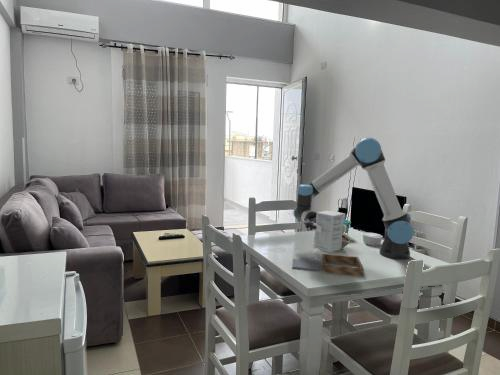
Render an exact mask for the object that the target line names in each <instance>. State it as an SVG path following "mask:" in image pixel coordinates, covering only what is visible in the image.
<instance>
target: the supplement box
mask: <svg viewBox="0 0 500 375" xmlns="http://www.w3.org/2000/svg"><path fill="white" fill-rule="evenodd" d="M316 213H317V215H316V224H318V225H320V226H321V227H322V229H321V233H320V232H318V231H316V230H314V239H313V240H314V243H313V248H314V249H318V250H321V251H325V252H328V253H333V252H335V251H340V250H342V243H343V238H342V234H343V222H344V219H345V213H341V212H337V211H332V210H322V211H317V212H316Z"/></svg>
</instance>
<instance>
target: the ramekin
mask: <svg viewBox="0 0 500 375" xmlns="http://www.w3.org/2000/svg"><path fill="white" fill-rule="evenodd" d="M383 237H384V236H383V235H381V234H379V233H375V232H363V233H362V241H363V243H364V245H368V246H373V245H378V246H380V245H382V242H383V241H382V240H383V239H384V238H383Z"/></svg>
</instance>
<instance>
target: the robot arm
mask: <svg viewBox="0 0 500 375" xmlns="http://www.w3.org/2000/svg"><path fill="white" fill-rule="evenodd" d="M385 162H386V157H385V155H384V153H383V151H382V146H381V144H380V142H379V141H378V140H377V139H375V138H373V137H365V138H362V139H360V140H359V141H358V142H357V144H356V146H355V147H354V148H352V149H351V150H350V151H349V154H348V155H346V156H345V157H344V158H342V159H341V160H340V161H338V162H337V163H335V164H334V165H333V166H332V167H330V168H329V169H327V170H326V171H325V172H323V173H322V174H321V175H319V176H318V177H317V178H315V179H314V180H313V181H311V182H310V183H309V184H299V185H298V187H297V199H296V200H297V201H296V202H297V203H296V206H295V208H294V209H293V212H292V214H293V217H294V218H295V220H298V221H299V222H302V223H303V224H304V225H305V228H306V229H309V230H310V231H313V230H314V231H315V230H316V231H318V232H320V233H321V229H322V227H321V226H320V225H318V224H316V215H317V212H316V211H314V210H312V201H313V199H315V197H317V196H318V195H319V194H320V193H322V192H324V191H325V190H327V188H329V187H330V186H332V185H333V184H334V183H336V182H338V181H339V180H340V179H342V178H343V177H344V176H346V175H347V174H348V173H350V172H351V171H353V170H354V169H355V168H357V167H361V169H362V170H364V171H366V174H367V175H368V178H369V180H370V181H369V182H370V183H371V186H372V187H373V188H372V189H373V190H374V193H375V196H376V199H377V202H378V203H379V206H380V209H381V211H382V214H383V217H382V219H381V221H382V222H383V225H384V227H385V228H384V238H383V241H382V242H381V244H380V245H381V246H380V247H379V254H380V255H381V256H384V257H385V258H386V257H387V258H391V259H397V260H407V259H410V257H411V251H410V247H409V246H410V245H409V242H411V240H412V239H413V237H414V233H415V232H414V227H413V225H412V223H411V220H412V216H411V214H410V213H408V212H407V211H405V210H402V207H401V205H400V202H399V200H398V197H397V195H396V192H395V190H394V188H393V185H392V182H391V179H390V177H389V175H388V172H387V169H386V167H385ZM346 227H347V226H345V225H343V232H346Z"/></svg>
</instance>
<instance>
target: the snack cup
mask: <svg viewBox="0 0 500 375" xmlns="http://www.w3.org/2000/svg"><path fill="white" fill-rule="evenodd" d="M351 224H352V222H351V220H348V219H345V218H344V222H343V225H345V226H347V227H346V232H345V233H347V235H348V233H349V231H350V230H349V228H350V226H351Z"/></svg>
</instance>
